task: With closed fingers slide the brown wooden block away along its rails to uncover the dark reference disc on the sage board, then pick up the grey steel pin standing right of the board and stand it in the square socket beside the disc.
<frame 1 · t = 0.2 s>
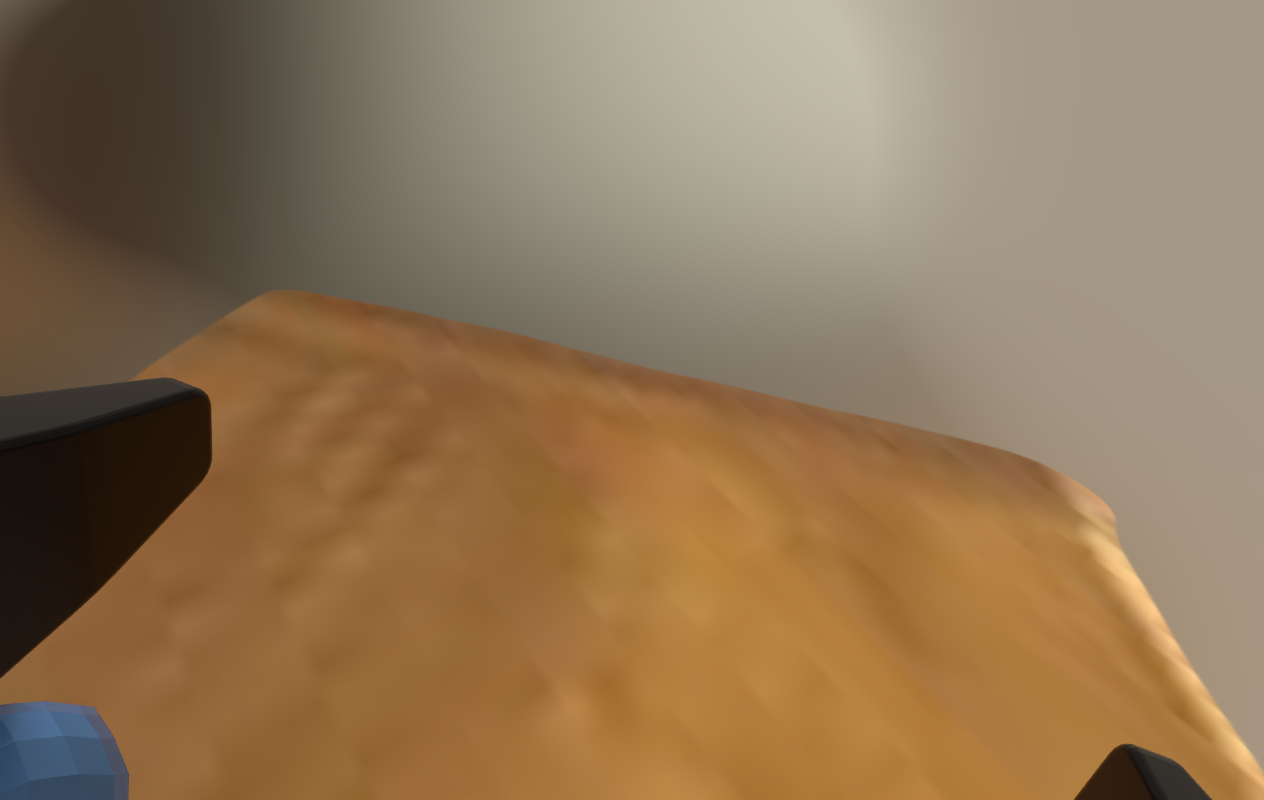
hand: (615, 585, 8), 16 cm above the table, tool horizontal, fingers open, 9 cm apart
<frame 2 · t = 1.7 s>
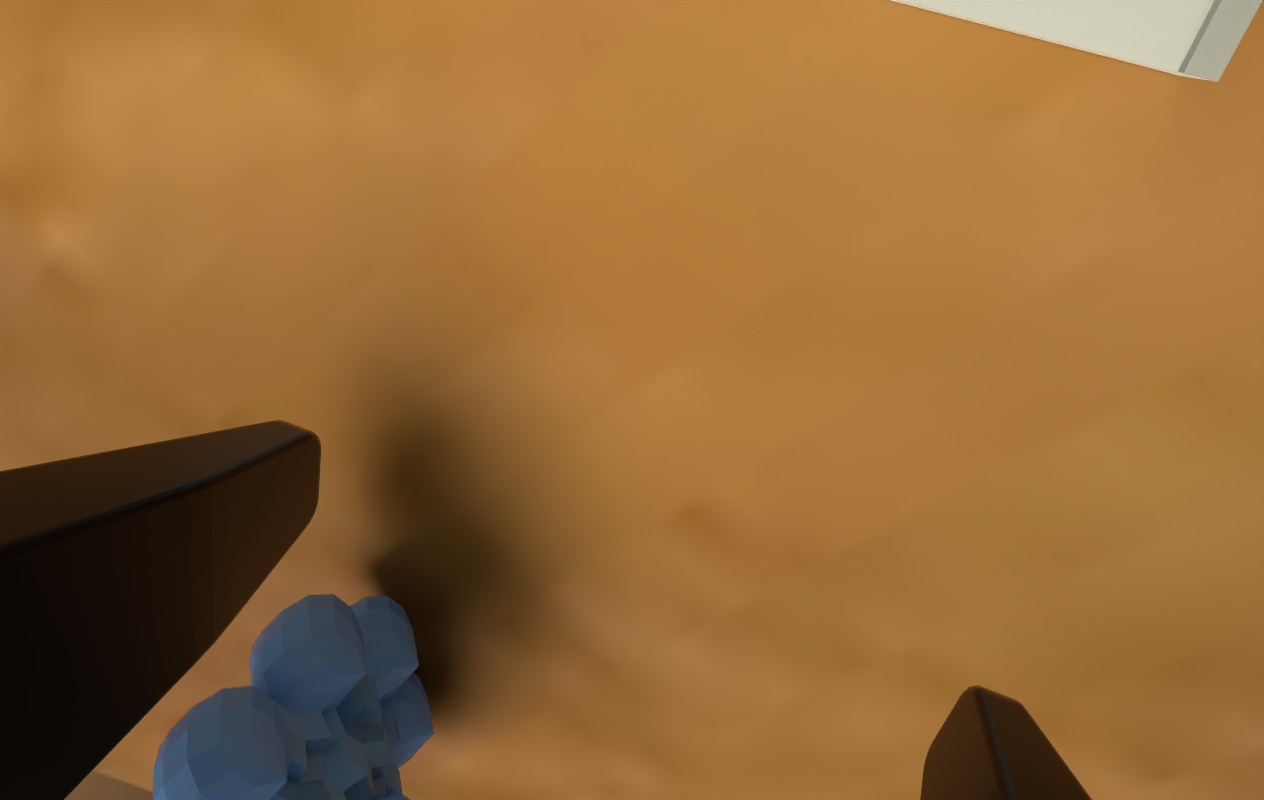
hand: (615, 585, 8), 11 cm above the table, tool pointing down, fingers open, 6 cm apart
grapes: (439, 678, 26), on the table
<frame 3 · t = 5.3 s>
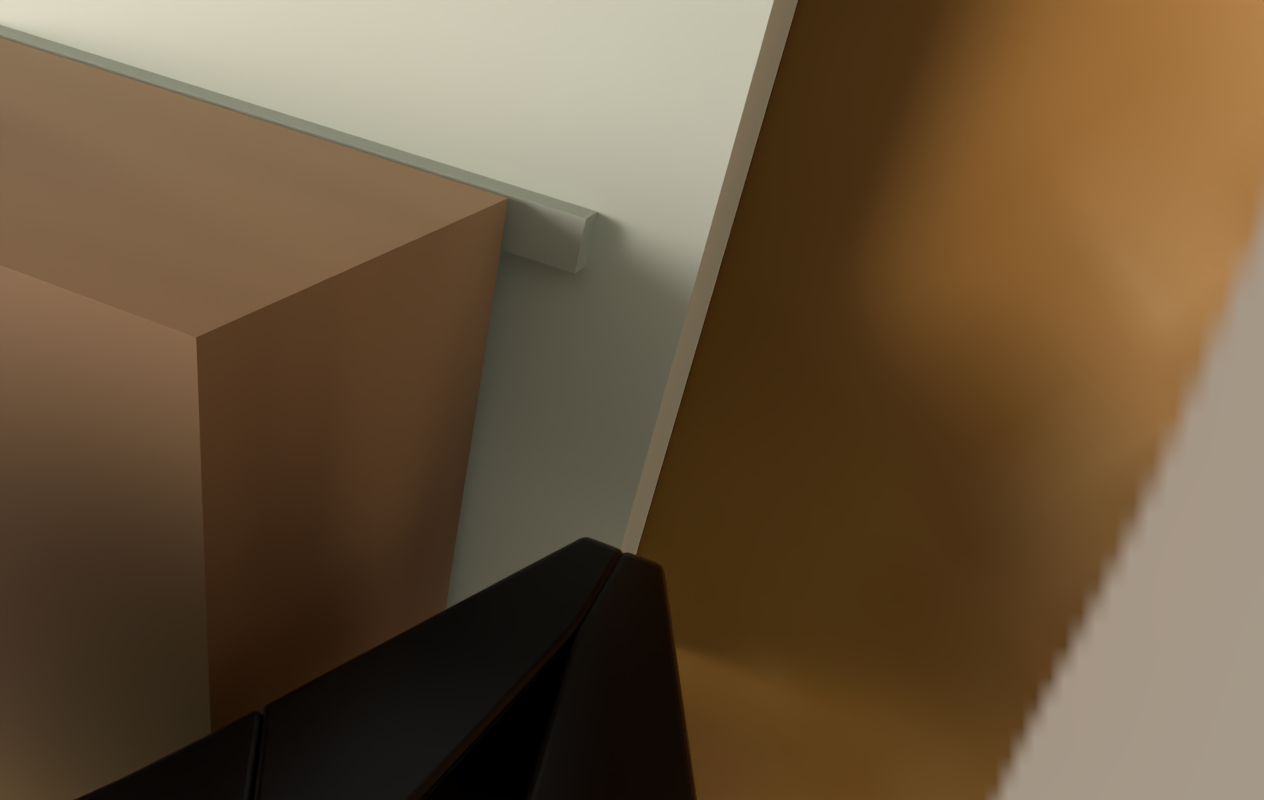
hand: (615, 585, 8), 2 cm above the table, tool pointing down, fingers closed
brown wooden block: (69, 465, 7), point 4 cm above the table, slide at 0.7 cm, touching gripper
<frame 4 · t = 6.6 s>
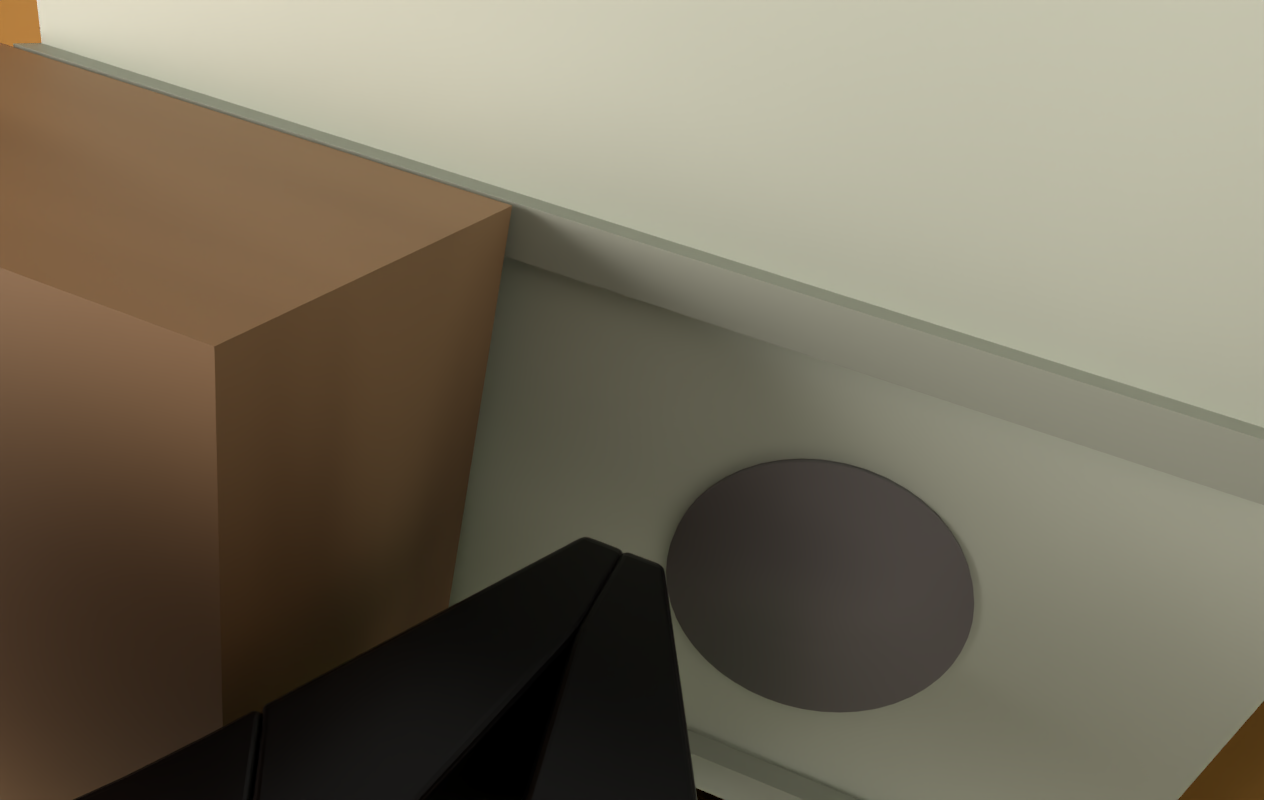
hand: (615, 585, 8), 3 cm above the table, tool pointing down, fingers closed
brown wooden block: (77, 469, 7), point 4 cm above the table, slide at 6.7 cm, touching gripper
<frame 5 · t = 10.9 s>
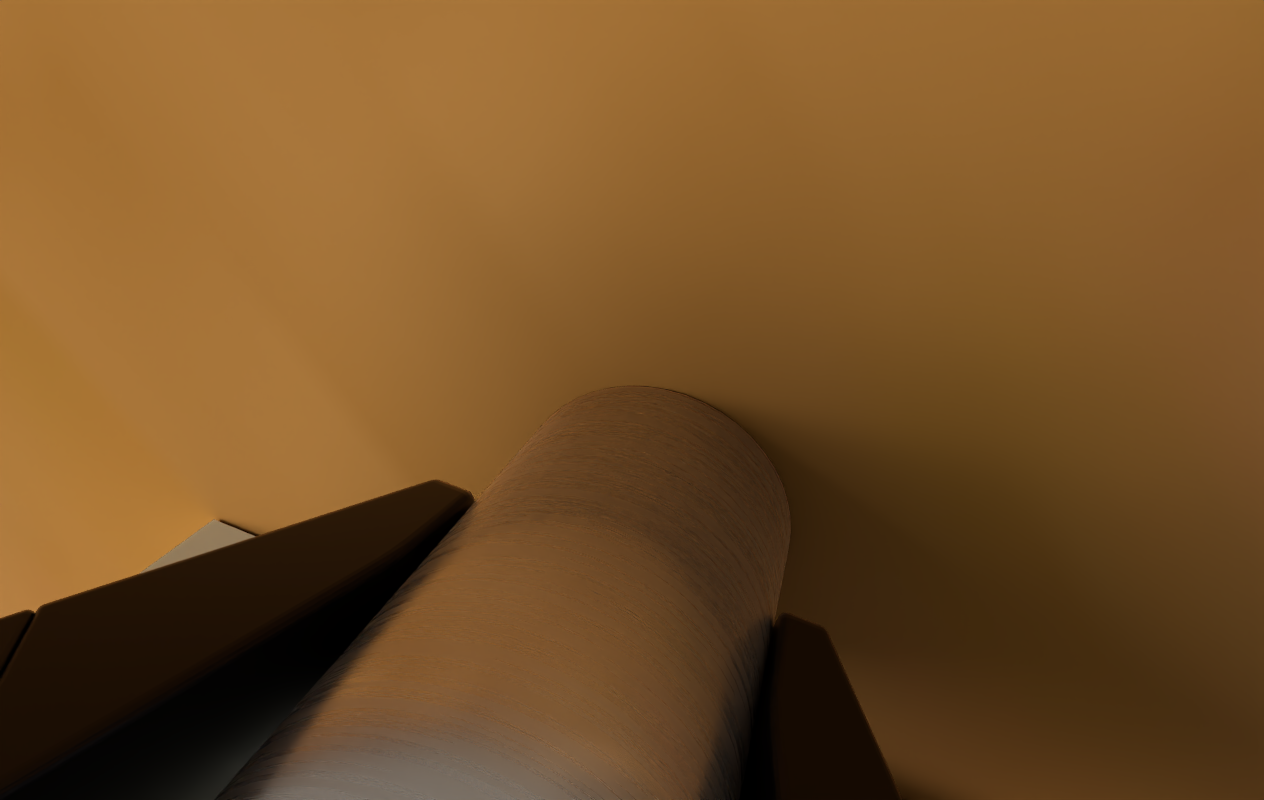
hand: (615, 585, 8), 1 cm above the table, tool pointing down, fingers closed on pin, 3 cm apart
pin: (649, 514, 9), on the table, touching gripper
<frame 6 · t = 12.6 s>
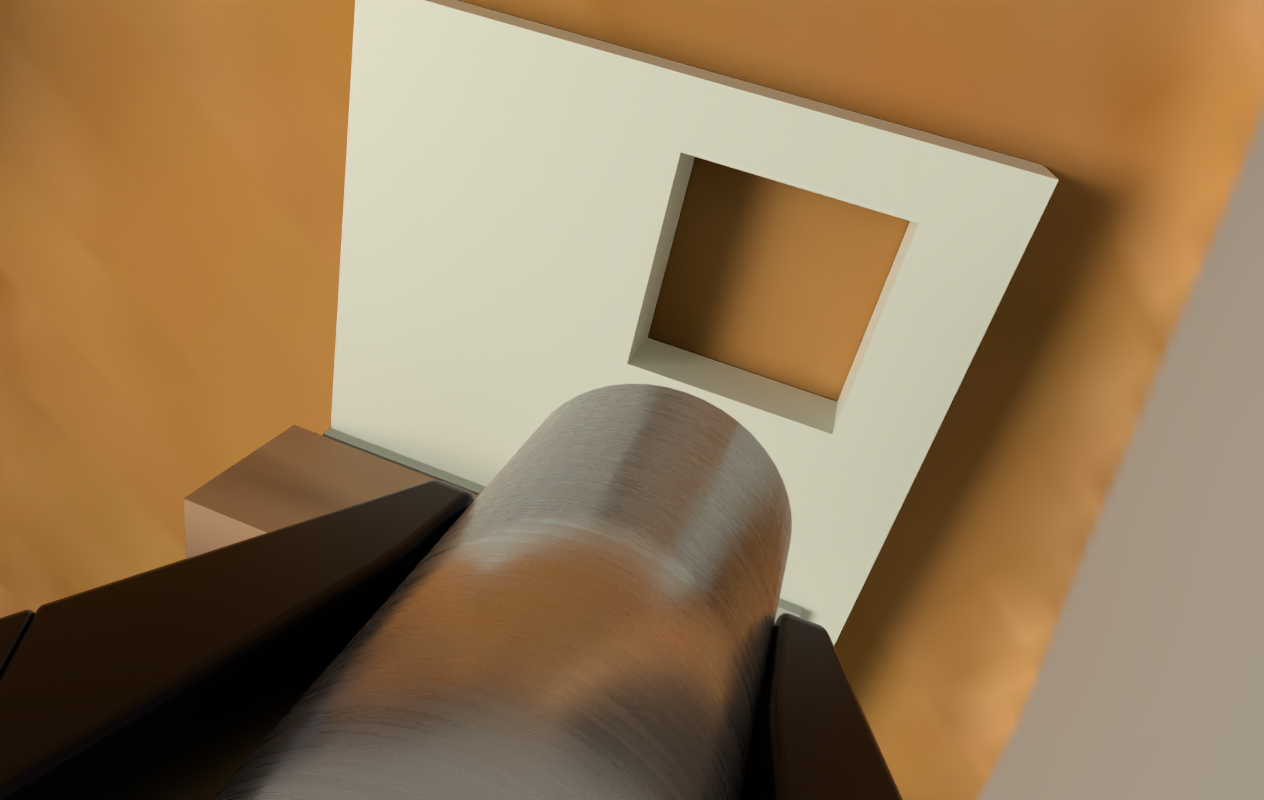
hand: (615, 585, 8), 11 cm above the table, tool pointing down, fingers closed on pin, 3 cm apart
board: (613, 419, 19), on the table
pin: (650, 512, 9), point 9 cm above the table, touching gripper
brown wooden block: (353, 605, 19), point 4 cm above the table, slide at 6.7 cm
when the fingers open (2 cm above the table, at t = 14.2 s): pin drops 1 cm, resting in board.
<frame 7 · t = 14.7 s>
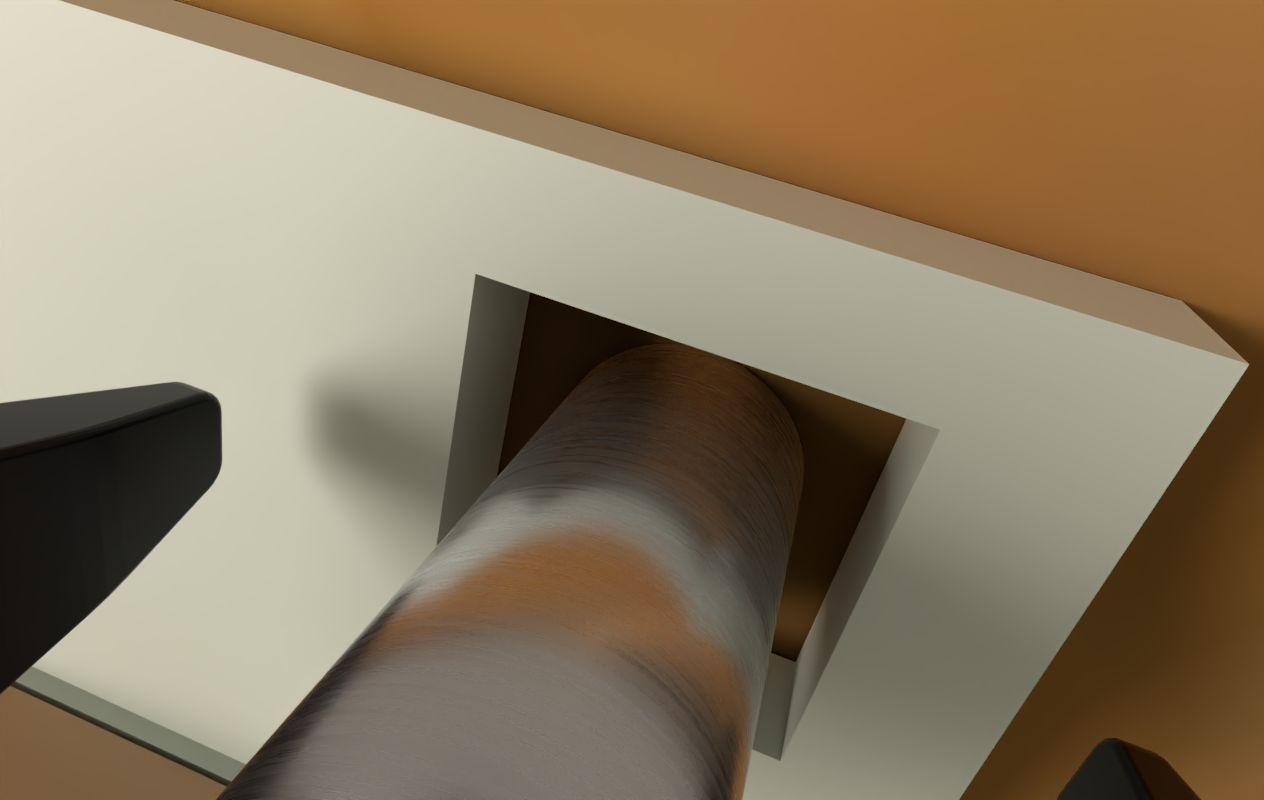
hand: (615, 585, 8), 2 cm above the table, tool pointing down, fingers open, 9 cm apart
board: (446, 652, 12), on the table
pin: (676, 461, 10), resting in board
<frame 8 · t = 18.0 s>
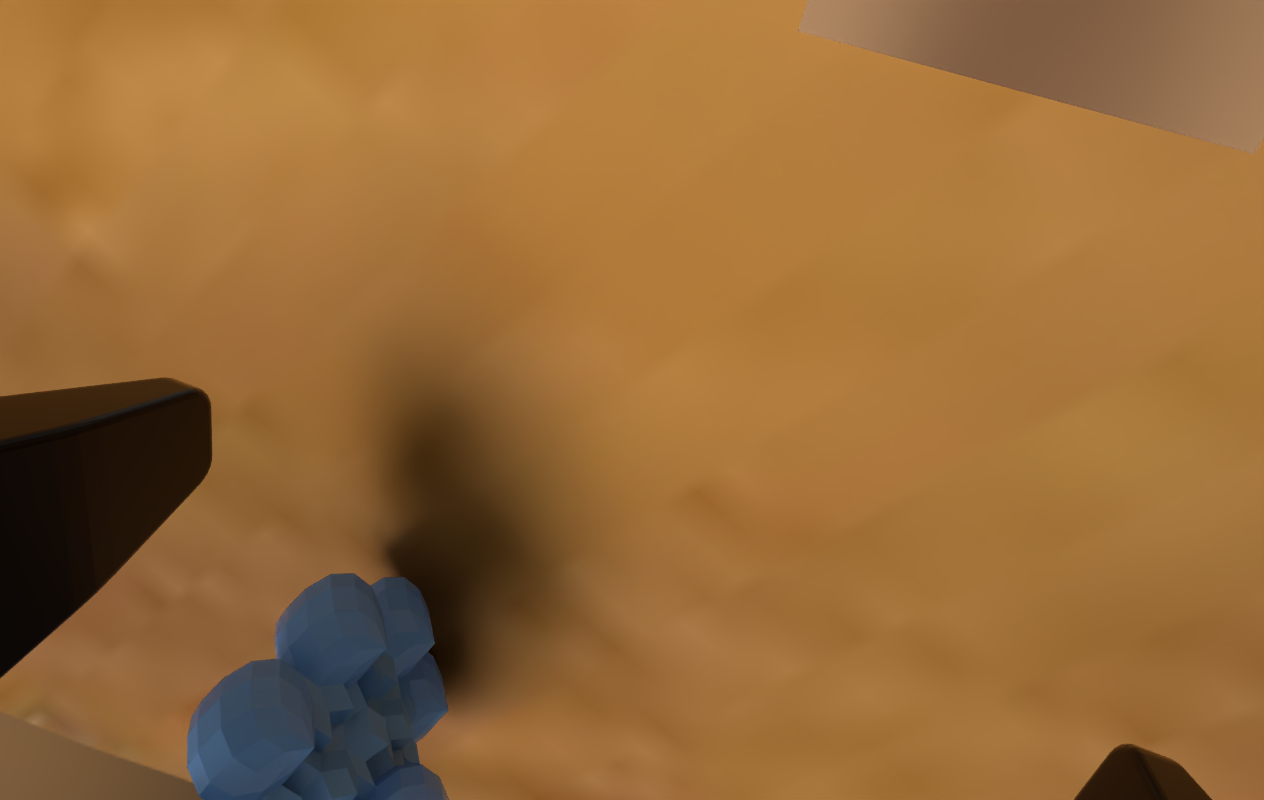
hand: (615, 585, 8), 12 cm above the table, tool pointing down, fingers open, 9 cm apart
grapes: (452, 658, 27), on the table
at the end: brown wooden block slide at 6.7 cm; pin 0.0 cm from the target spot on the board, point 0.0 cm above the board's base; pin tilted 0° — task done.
